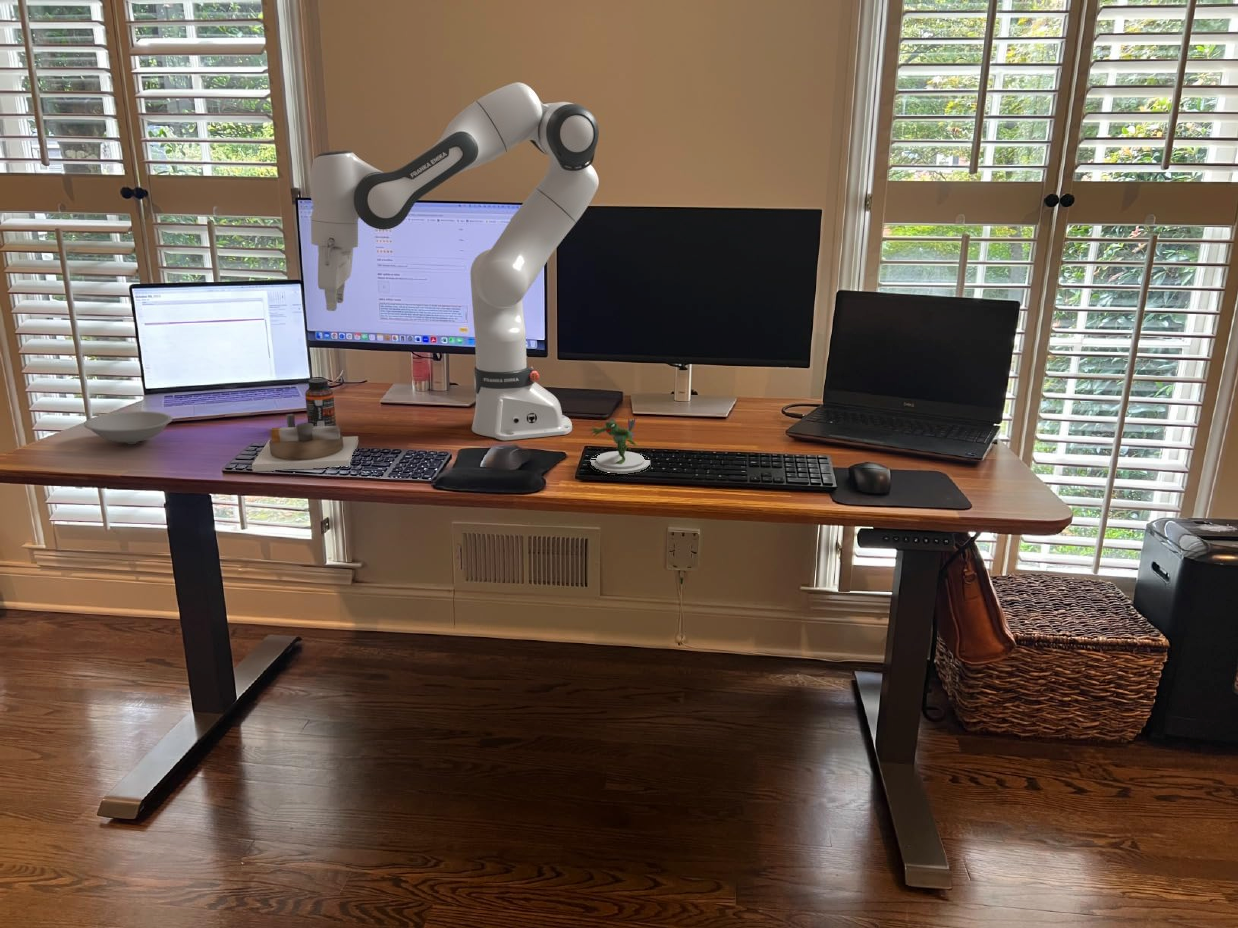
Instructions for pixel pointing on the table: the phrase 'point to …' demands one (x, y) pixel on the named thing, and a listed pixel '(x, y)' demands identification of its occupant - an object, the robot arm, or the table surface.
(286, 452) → the dial
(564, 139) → the robot arm
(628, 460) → the monster figurine
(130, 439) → the dish
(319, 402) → the supplement bottle
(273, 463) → the dial base
